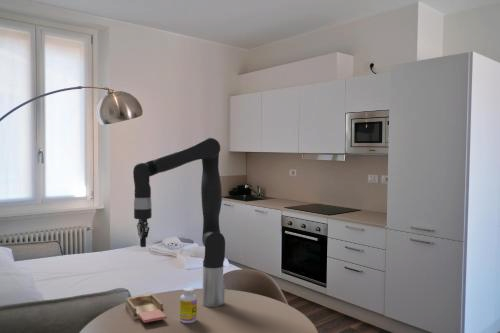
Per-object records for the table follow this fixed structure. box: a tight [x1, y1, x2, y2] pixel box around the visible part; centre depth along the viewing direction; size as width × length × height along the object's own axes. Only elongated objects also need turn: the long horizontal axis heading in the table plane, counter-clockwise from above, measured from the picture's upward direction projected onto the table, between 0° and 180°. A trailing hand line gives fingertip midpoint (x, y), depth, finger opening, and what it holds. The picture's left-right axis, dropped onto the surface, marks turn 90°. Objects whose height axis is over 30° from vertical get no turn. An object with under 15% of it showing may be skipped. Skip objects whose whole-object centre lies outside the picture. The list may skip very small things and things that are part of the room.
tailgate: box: [138, 309, 168, 324], centre depth 159 cm, size 9×1×9 cm
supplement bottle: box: [179, 286, 198, 324], centre depth 161 cm, size 7×7×13 cm
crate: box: [125, 293, 164, 321], centre depth 169 cm, size 12×15×4 cm
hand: (143, 246), depth 176 cm, fingers closed
